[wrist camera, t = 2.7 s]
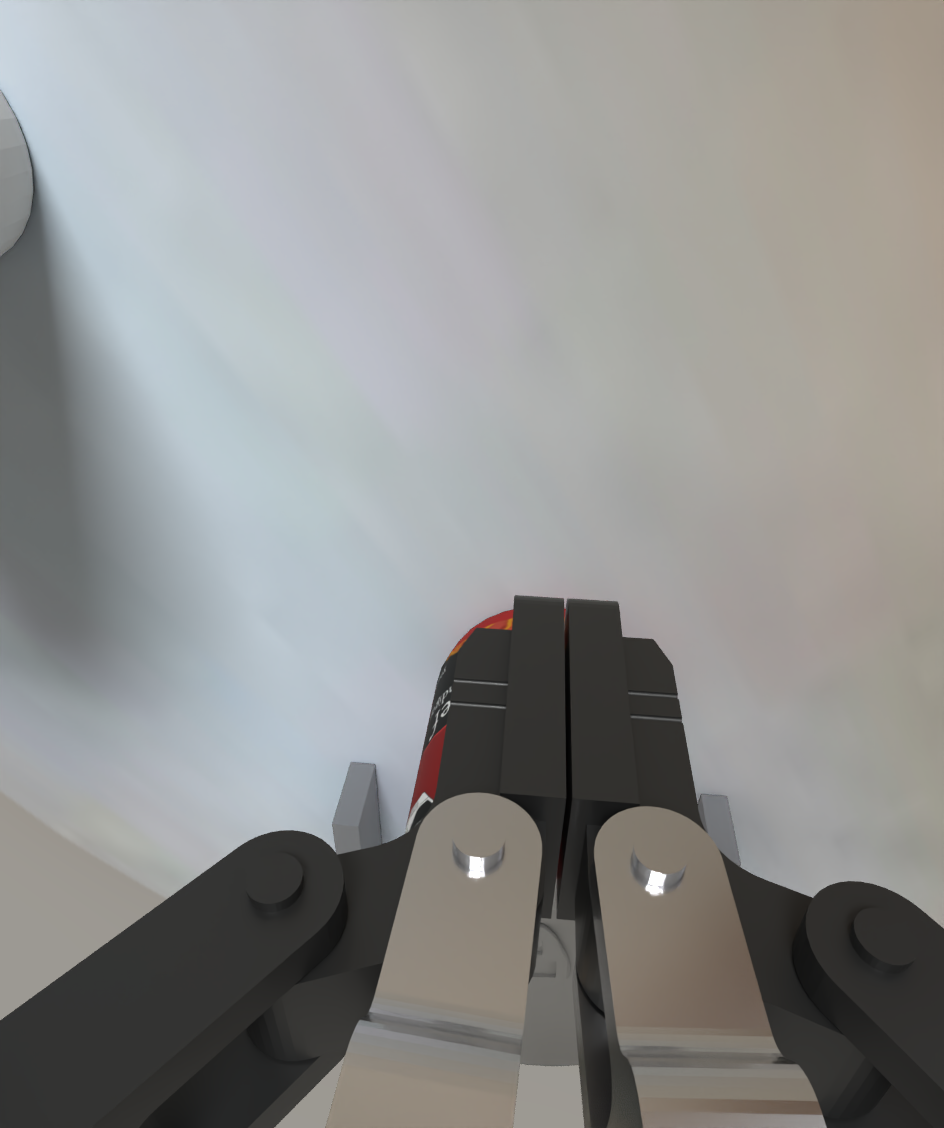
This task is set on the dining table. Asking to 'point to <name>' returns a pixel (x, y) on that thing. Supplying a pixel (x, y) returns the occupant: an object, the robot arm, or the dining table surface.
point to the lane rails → (362, 828)
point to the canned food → (551, 984)
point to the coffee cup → (13, 179)
